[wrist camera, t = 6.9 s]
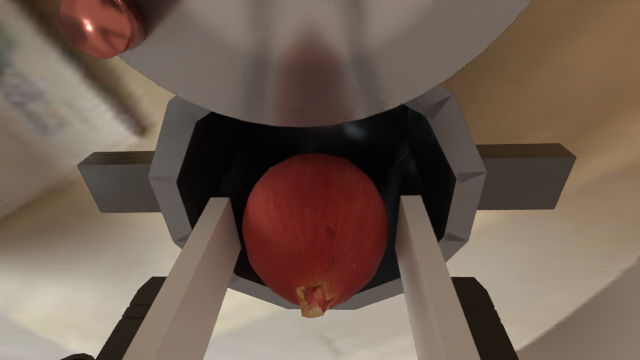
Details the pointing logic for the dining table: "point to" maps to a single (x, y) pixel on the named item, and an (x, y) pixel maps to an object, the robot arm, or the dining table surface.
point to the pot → (340, 141)
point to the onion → (315, 230)
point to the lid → (291, 50)
